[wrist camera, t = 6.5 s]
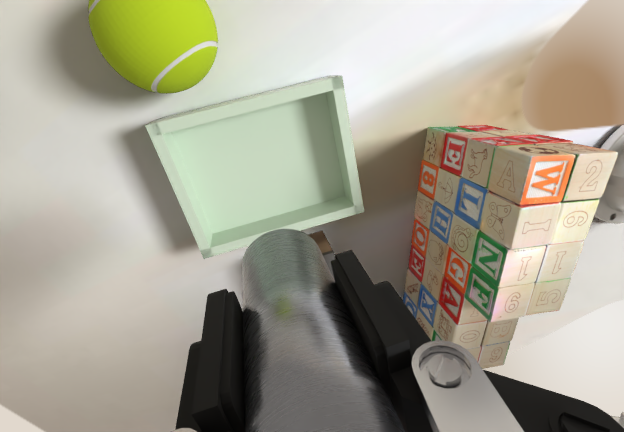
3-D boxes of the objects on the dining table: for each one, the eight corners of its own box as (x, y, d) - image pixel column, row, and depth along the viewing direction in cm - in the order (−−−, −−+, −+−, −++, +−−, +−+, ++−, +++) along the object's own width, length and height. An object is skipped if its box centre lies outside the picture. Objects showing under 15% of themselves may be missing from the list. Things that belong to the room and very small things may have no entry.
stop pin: (322, 203, 12) (724, 813, 2) (341, 289, 14) (606, 840, 4) (212, 235, 12) (60, 1183, 2) (247, 319, 14) (272, 1019, 4)
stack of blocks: (448, 304, 39) (529, 395, 28) (400, 311, 38) (464, 408, 27) (486, 123, 31) (624, 151, 19) (425, 125, 29) (536, 156, 18)
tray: (330, 75, 26) (342, 75, 23) (352, 198, 31) (364, 211, 28) (157, 119, 25) (145, 125, 22) (207, 239, 30) (203, 258, 26)
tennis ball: (90, 21, 22) (29, -1, 15) (171, -46, 21) (140, -97, 15) (168, 109, 25) (143, 121, 18) (240, 52, 24) (239, 45, 18)
